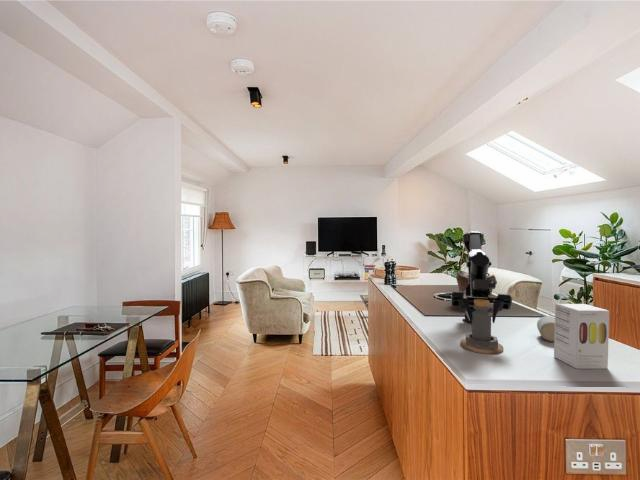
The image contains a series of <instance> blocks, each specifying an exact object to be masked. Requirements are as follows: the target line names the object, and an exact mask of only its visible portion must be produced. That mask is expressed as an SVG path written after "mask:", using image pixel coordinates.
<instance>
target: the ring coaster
mask: <svg viewBox="0 0 640 480" xmlns="http://www.w3.org/2000/svg"><path fill="white" fill-rule="evenodd" d="M460 346H461V347H462V348H463V349H465V350H466V351H469V352H472V353H473V352H474V353H476V354H484V355H497V354H498V355H499V354H501V353H502V352H504V346H503V345H502V344H500V343H499V341H498V337H497V336H494V335H492V334H491V341H480V340H475V339H473V338H472V332H469V333H466V334H465V338H464V339H461V340H460Z"/></svg>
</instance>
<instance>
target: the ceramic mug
mask: <svg viewBox="0 0 640 480" xmlns="http://www.w3.org/2000/svg"><path fill="white" fill-rule="evenodd" d="M536 328H537V330H538V332H539V334H540V336H541V337H542V338H543V339H544V340H545V341H547V342H552V343H554V337H555V316H552V315H545V316H542V317H540V318H539V319H538V320H537V322H536Z"/></svg>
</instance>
